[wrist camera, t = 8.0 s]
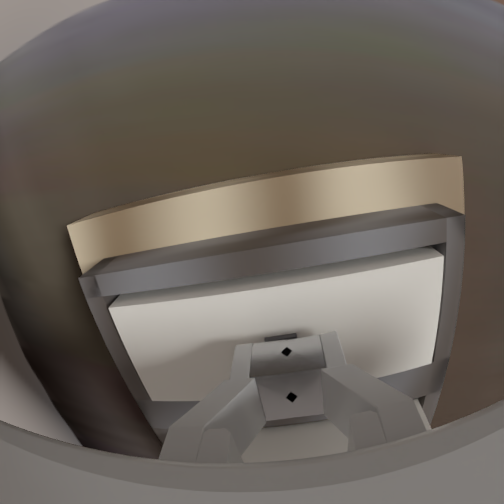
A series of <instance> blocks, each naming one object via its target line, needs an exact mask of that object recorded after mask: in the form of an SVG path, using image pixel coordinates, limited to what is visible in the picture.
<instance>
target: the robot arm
mask: <svg viewBox="0 0 504 504" xmlns="http://www.w3.org/2000/svg"><path fill="white" fill-rule="evenodd" d="M320 414H324V415H325V416H326V417H327V418H328V419H329V420H330V421H331V422H332V423H333V424H334V425H335V426H336V427H337V428H338V429H339V430H340V431H341V432H342V433H343V434H344V435H345V436H346V437H347V438H348V450H347V452H343V453H337V454H331V455H325V456H318V457H311V458H303V459H294V460H284V461H271V462H253V463H244V462H243V460H242V458H241V456H242V454H243V453H244V452H245V450H246V449H247V448H248V446H249V445H250V444H251V442H252V441H253V440H254V438H255V437H256V436H257V434H258V433H259V432H260V430H261V429H262V428H263V426H264V425H265V423H266V421H270V420H279V419H286V418H293V417H303V416H311V415H320ZM0 504H504V399H503V400H501V401H499V402H497V403H495V404H493V405H490V406H488V407H486V408H484V409H482V410H480V411H477V412H475V413H473V414H470V415H468V416H466V417H463V418H461V419H458V420H456V421H453V422H451V423H448V424H445V425H443V426H440V427H437V428H434V429H431V430H428V431H427V430H426V428H425V426H424V423H423V421H422V419H421V416H420V414H419V412H418V410H417V407H416V405H415V403H414V401H413V399H412V398H410V397H409V396H407V395H405V394H403V393H402V392H400V391H398V390H396V389H395V388H393V387H391V386H389V385H388V384H386V383H384V382H382V381H381V380H379V379H377V378H376V377H374V376H372V375H370V374H369V373H367V372H365V371H364V370H362V369H360V368H358V367H357V366H355V365H353V364H347V363H346V359H345V356H344V353H343V350H342V347H341V343H340V340H339V337H338V334H337V332H336V331H332V332H327V333H322V334H319V335H314V336H308V337H302V338H295V339H289V340H278V341H269V342H259V343H249V344H240V345H237V346H236V347H235V351H234V356H233V362H232V367H231V373H230V378H229V380H224V381H223V382H222V383H221V384H219V385H218V386H217V387H216V388H215V389H214V390H213V391H211V392H210V393H209V394H208V395H207V396H206V397H205V398H203V399H202V400H201V401H200V402H199V403H197V404H196V405H195V406H194V407H193V408H192V409H190V410H189V411H188V412H187V413H186V414H184V415H183V416H182V417H181V418H180V419H178V420H177V421H176V422H175V423H173V424H172V425H171V426H170V427H169V430H168V432H167V435H166V438H165V441H164V444H163V447H162V450H161V453H160V456H159V459H150V458H142V457H134V456H128V455H122V454H116V453H110V452H105V451H100V450H95V449H91V448H86V447H82V446H78V445H74V444H70V443H66V442H63V441H59V440H55V439H52V438H49V437H45V436H42V435H39V434H36V433H33V432H30V431H27V430H24V429H21V428H19V427H16V426H13V425H11V424H8V423H6V422H3V421H0Z"/></svg>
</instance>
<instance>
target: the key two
mask: <svg viewBox="0 0 504 504" xmlns="http://www.w3.org/2000/svg"><path fill="white" fill-rule="evenodd" d="M413 401H414V403H415V405H416V407H417V410H418V412H419V414H420V416H421V419H422V421H423V423H424V426H425V428H426V430H427V431H428V430H431V427H430V424H429V422H428V420H427V418H426V416H425V413H424V411H423V409H422V407H421V405H420V403H419V401H418V399H414V400H413ZM347 450H348V438H347V437H346V436H345V435H344V434H343V433H342V432H341V431H340V430H339V429H338V428H337V427H336V426H335V425H334V424H333V423H332V422H331V421H330V420H323V421H316V422H310V423H302V424H295V425H286V426H277V427H266V428H262V429H261V430H260V432H259V433H258V434H257V436H256V437H255V438H254V440H253V441H252V442H251V444H250V445H249V446H248V448H247V449H246V450H245V452H244V453H243V454H242V456H241V458H242V460H243V462H244V463H253V462H271V461H284V460H294V459H303V458H311V457H318V456H325V455H331V454H337V453H343V452H347Z"/></svg>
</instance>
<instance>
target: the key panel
mask: <svg viewBox="0 0 504 504" xmlns="http://www.w3.org/2000/svg"><path fill="white" fill-rule="evenodd" d="M67 228H68V231H69V234H70V238H71V241H72V244H73V247H74V251H75V254H76V257H77V260H78V263H79V266H80V268H81V271H82V274H83V275H82V276H80V277H79V278H78V279H79V282H80V285H81V287H82V290H83V292H84V295H85V298H86V300H87V303H88V305H89V307H90V310H91V312H92V315H93V317H94V319H95V322H96V324H97V326H98V328H99V331H100V333H101V335H102V337H103V339H104V341H105V344H106V346H107V348H108V350H109V352H110V354H111V356H112V358H113V360H114V362H115V364H116V366H117V368H118V370H119V372H120V374H121V375H122V377H123V379H124V381H125V383H126V385H127V387H128V388H129V390H130V392H131V394H132V395H133V397H134V399H135V401H136V402H137V404H138V406H139V407H140V409H141V411H142V412H143V414H144V416H145V417H146V419H147V421H148V422H149V424H150V425H151V427H152V429H153V430H154V432H155V433H156V435H157V436H158V438H159V439H160V441H161V442H162V444H164V441H165V438H166V435H167V432H168V430H169V427H170V426H171V425H172V424H173V423H175V422H176V421H177V420H178V419H180V418H181V417H182V416H183V415H184V414H186V413H187V412H188V411H189V410H190V409H192V408H193V407H194V406H195V405H196V404H197V403H199V402H200V401H152V400H151V398H150V396H149V394H148V392H147V391H146V389H145V387H144V385H143V383H142V381H141V379H140V377H139V375H138V373H137V371H136V369H135V367H134V365H133V363H132V361H131V359H130V357H129V355H128V352H127V350H126V348H125V346H124V344H123V342H122V339H121V337H120V335H119V333H118V330H117V328H116V326H115V323H114V321H113V319H112V316H111V314H110V311H109V309H108V308H109V306H110V305H111V304H112V303H113V302H114V301H115V300H116V299H117V298H118V297H119V295H120V294H126V293H134V292H142V291H149V290H157V289H164V288H171V287H179V286H186V285H193V284H200V283H207V282H214V281H220V280H227V279H234V278H241V277H247V276H254V275H260V274H267V273H273V272H279V271H285V270H292V269H298V268H304V267H310V266H316V265H322V264H328V263H334V262H340V261H346V260H352V259H357V258H363V257H369V256H374V255H380V254H386V253H391V252H397V251H402V250H407V249H413V248H418V247H424V246H429V245H430V246H431V247H432V248H434V249H435V250H437V251H438V252H439V253H441V254H442V255H443V256H444V264H443V280H442V293H441V303H440V312H439V320H438V327H437V334H436V340H435V346H434V352H433V357H432V363H431V364H428V365H425V366H421V367H418V368H414V369H411V370H407V371H403V372H399V373H396V374H392V375H388V376H384V377H379V378H377V379H379V380H381V381H382V382H384V383H386V384H388V385H389V386H391V387H393V388H395V389H396V390H398V391H400V392H402V393H403V394H405V395H407V396H409V397H410V398H412V399H413V400H414V399H418V401H419V403H420V405H421V407H422V409H423V411H424V413H425V416H426V418H427V420H428V422H429V424H431V421H432V418H433V415H434V412H435V409H436V406H437V403H438V400H439V396H440V393H441V389H442V386H443V382H444V378H445V374H446V370H447V366H448V362H449V358H450V353H451V349H452V344H453V339H454V333H455V328H456V322H457V316H458V309H459V302H460V294H461V286H462V276H463V264H464V248H465V215H464V183H463V168H462V156H454V155H445V154H436V153H427V154H413V155H401V156H390V157H380V158H371V159H362V160H353V161H345V162H337V163H330V164H322V165H315V166H308V167H302V168H295V169H289V170H283V171H277V172H271V173H265V174H260V175H254V176H249V177H243V178H238V179H233V180H228V181H223V182H218V183H213V184H208V185H203V186H199V187H194V188H190V189H185V190H181V191H176V192H172V193H168V194H164V195H160V196H155V197H151V198H147V199H143V200H139V201H136V202H132V203H128V204H124V205H120V206H117V207H113V208H109V209H106V210H102V211H99V212H95V213H93V214H91V215H89V216H86V217H84V218H82V219H80V220H78V221H76V222H74V223H71V224H69V225H67ZM323 420H329V419H328V418H327V417H326V416H325V415H324V414H320V415H311V416H303V417H293V418H286V419H279V420H270V421H266V423H265V425H264V426H263V428H266V427H277V426H286V425H295V424H302V423H310V422H316V421H323Z"/></svg>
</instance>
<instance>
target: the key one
mask: <svg viewBox="0 0 504 504" xmlns="http://www.w3.org/2000/svg"><path fill="white" fill-rule="evenodd" d="M443 264H444V256H443V255H442V254H441V253H439V252H438V251H437V250H435V249H434V248H432V247H431V246H430V245H429V246H424V247H418V248H413V249H407V250H402V251H397V252H391V253H386V254H380V255H374V256H369V257H363V258H357V259H352V260H346V261H340V262H334V263H328V264H322V265H316V266H310V267H304V268H298V269H292V270H285V271H279V272H273V273H267V274H260V275H254V276H247V277H241V278H234V279H227V280H220V281H214V282H207V283H200V284H193V285H186V286H179V287H171V288H164V289H157V290H149V291H142V292H134V293H126V294H120V295H119V297H118V298H117V299H116V300H115V301H114V302H113V303H112V304H111V305H110V306H109V308H108V309H109V311H110V314H111V316H112V319H113V321H114V323H115V326H116V328H117V330H118V333H119V335H120V337H121V339H122V342H123V344H124V346H125V348H126V350H127V352H128V355H129V357H130V359H131V361H132V363H133V365H134V367H135V369H136V371H137V373H138V375H139V377H140V379H141V381H142V383H143V385H144V387H145V389H146V391H147V392H148V394H149V396H150V398H151V400H152V401H201V400H202V399H203V398H205V397H206V396H207V395H208V394H209V393H210V392H211V391H213V390H214V389H215V388H216V387H217V386H218V385H219V384H221V383H222V382H223V381H224V380H229V378H230V373H231V367H232V362H233V356H234V351H235V347H236V346H237V345H240V344H249V343H259V342H269V341H278V340H289V339H295V338H302V337H308V336H314V335H319V334H322V333H327V332H332V331H336V332H337V334H338V337H339V340H340V343H341V347H342V350H343V353H344V356H345V359H346V363H347V364H353V365H355V366H357V367H358V368H360V369H362V370H364V371H365V372H367V373H369V374H370V375H372V376H374V377H376V378H379V377H384V376H388V375H392V374H396V373H399V372H403V371H407V370H411V369H414V368H418V367H421V366H425V365H428V364H431V363H432V357H433V352H434V346H435V340H436V334H437V327H438V320H439V312H440V303H441V293H442V280H443Z"/></svg>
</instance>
